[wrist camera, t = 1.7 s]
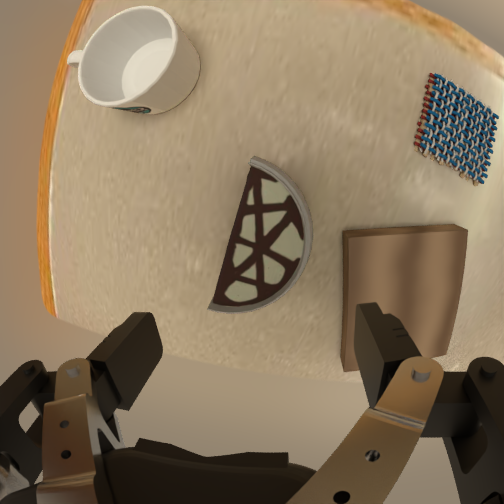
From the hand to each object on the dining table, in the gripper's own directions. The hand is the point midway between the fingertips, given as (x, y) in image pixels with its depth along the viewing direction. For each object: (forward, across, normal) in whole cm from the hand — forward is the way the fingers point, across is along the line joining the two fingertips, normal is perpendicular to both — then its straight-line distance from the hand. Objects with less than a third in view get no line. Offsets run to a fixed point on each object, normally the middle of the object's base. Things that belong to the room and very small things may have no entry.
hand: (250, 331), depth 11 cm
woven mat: (+20, -22, -10) cm, 32 cm away
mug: (+20, +12, -19) cm, 30 cm away
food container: (+20, 0, 0) cm, 20 cm away
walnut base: (+20, -14, +9) cm, 26 cm away
